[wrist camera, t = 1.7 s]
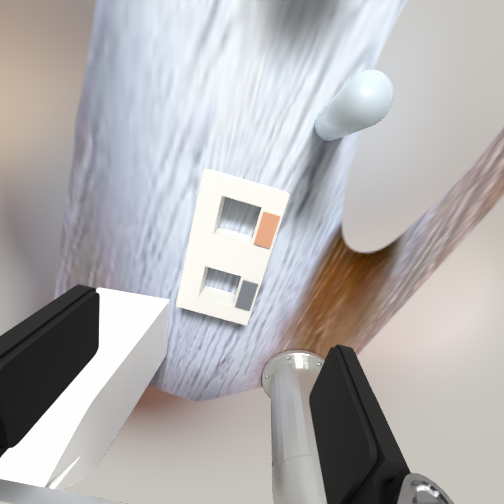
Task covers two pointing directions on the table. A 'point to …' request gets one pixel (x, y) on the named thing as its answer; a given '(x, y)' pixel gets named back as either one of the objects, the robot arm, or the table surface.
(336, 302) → the table surface
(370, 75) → the plug
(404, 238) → the table surface
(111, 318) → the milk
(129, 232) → the table surface
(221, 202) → the socket block
